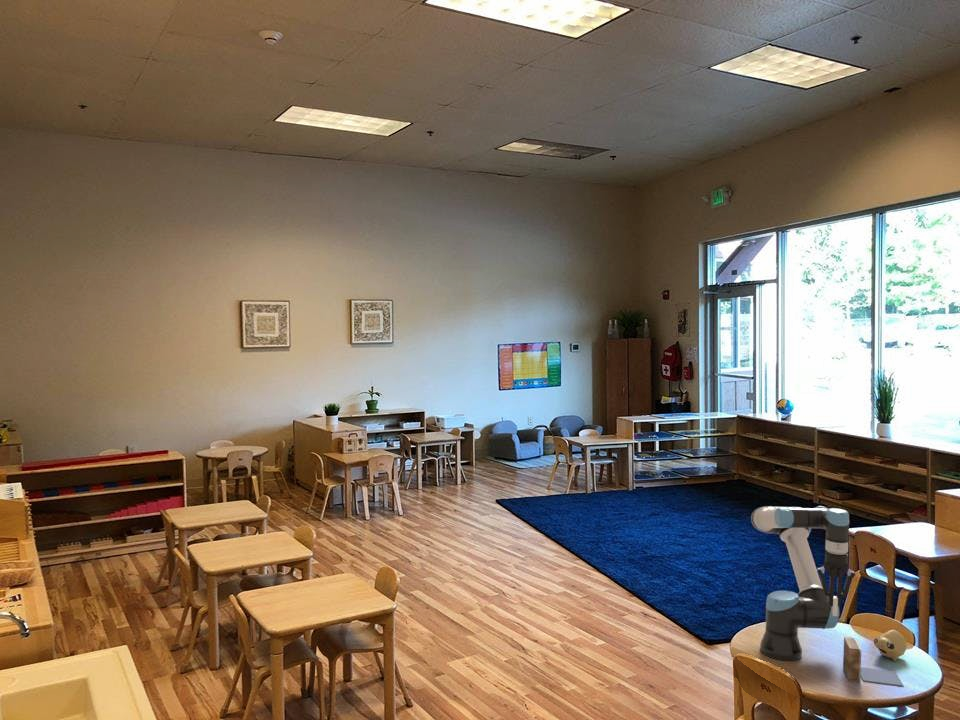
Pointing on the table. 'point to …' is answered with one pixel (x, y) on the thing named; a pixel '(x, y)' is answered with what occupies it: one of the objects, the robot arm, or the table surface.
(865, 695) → the table surface
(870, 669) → the mat
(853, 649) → the brown flat block
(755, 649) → the table surface
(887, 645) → the beige rounded lump
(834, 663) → the table surface
